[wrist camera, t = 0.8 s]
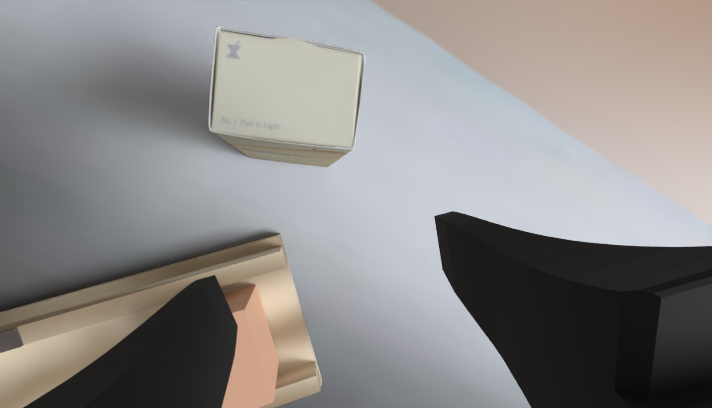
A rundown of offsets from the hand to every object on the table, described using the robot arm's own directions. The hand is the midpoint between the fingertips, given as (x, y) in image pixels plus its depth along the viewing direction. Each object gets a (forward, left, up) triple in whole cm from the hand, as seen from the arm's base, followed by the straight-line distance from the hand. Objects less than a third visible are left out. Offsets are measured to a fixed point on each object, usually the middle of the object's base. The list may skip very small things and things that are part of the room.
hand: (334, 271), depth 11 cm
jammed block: (-6, +8, -15) cm, 18 cm away
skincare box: (+7, 0, -16) cm, 17 cm away
